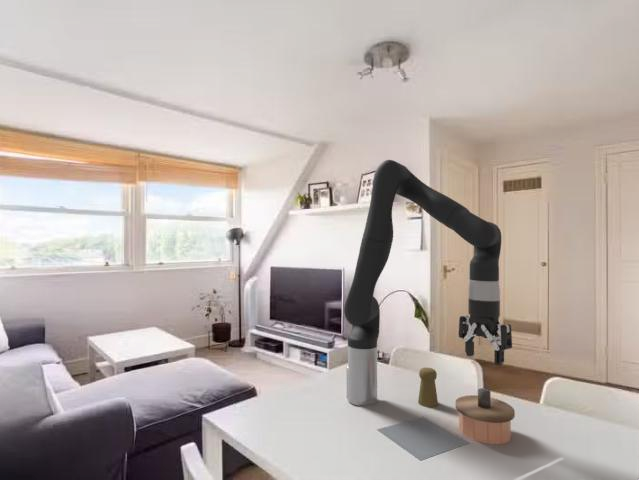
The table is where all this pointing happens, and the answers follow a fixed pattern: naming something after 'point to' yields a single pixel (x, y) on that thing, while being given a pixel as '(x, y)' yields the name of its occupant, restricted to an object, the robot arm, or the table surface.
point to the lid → (485, 407)
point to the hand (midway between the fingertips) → (483, 360)
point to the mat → (422, 437)
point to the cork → (428, 388)
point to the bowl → (485, 430)
